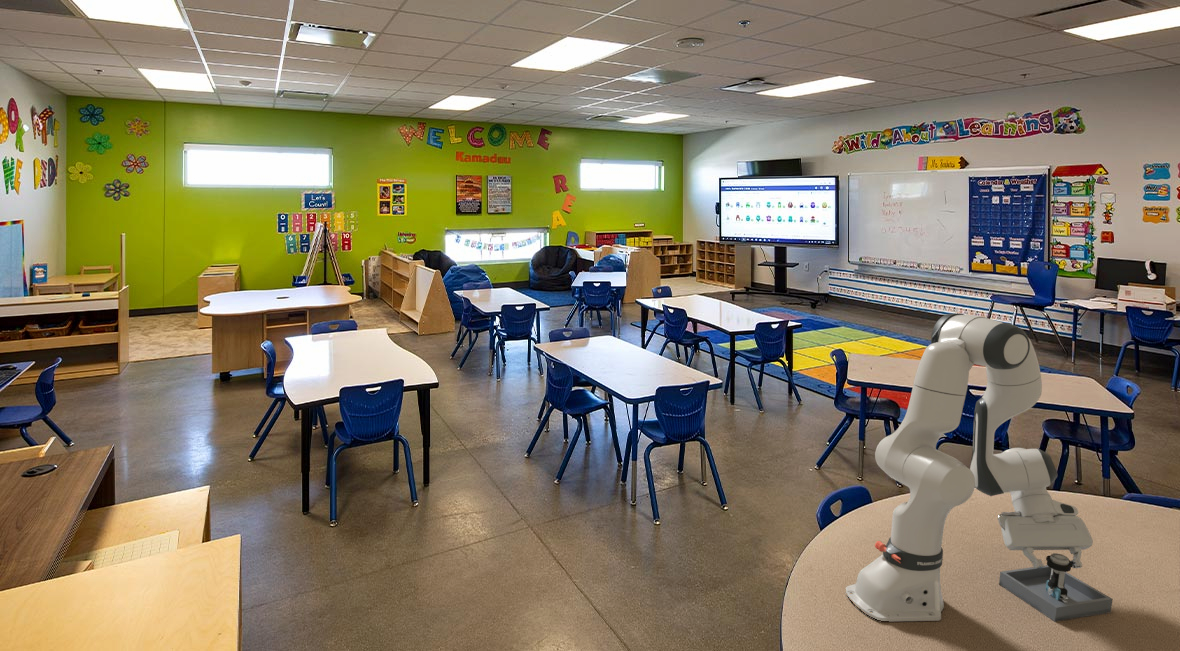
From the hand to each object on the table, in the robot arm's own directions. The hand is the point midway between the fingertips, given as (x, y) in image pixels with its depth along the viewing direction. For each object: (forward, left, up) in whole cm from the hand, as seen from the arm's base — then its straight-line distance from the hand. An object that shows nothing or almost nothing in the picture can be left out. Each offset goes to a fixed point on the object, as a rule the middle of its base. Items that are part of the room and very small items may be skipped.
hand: (1058, 567), depth 162 cm
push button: (0, 0, -8) cm, 8 cm away
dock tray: (0, +1, -8) cm, 8 cm away
